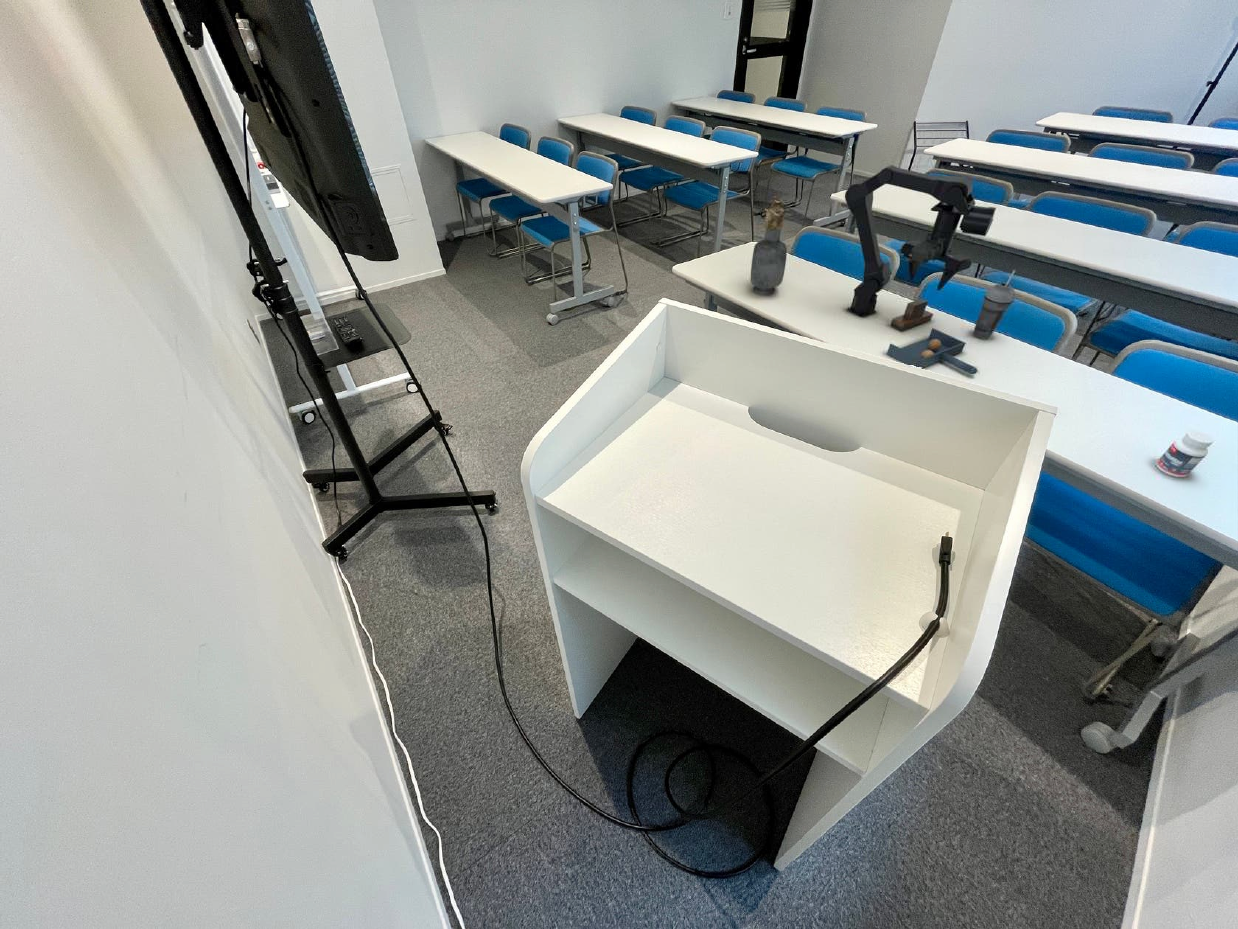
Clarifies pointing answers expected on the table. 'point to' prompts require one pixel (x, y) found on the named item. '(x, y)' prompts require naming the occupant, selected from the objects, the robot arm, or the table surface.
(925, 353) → the light brown ball
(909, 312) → the brush
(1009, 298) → the beverage cup
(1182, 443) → the pill bottle
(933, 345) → the brown rounded piece
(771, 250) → the grey tall bottle-shaped piece
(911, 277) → the robot arm
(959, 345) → the dustpan
